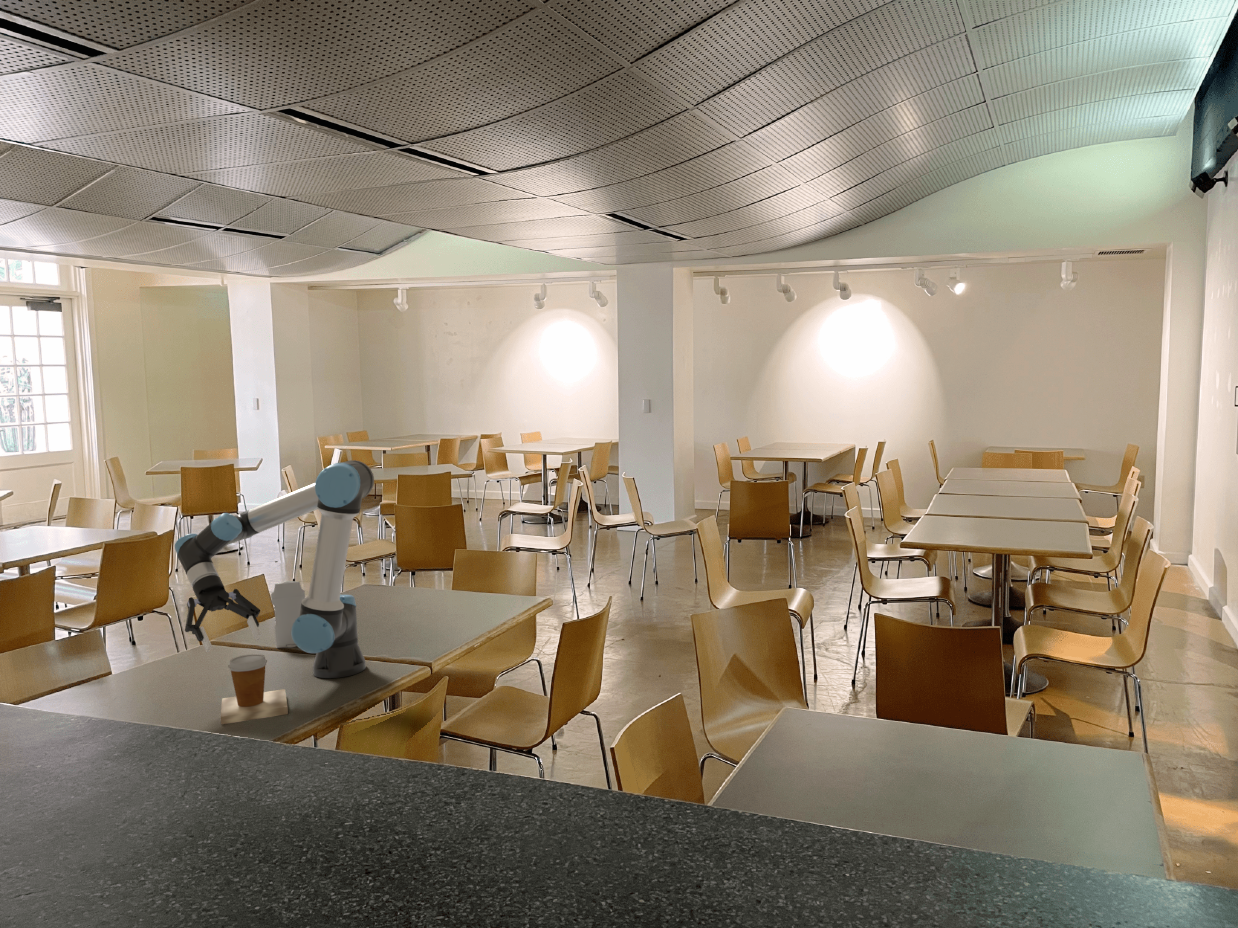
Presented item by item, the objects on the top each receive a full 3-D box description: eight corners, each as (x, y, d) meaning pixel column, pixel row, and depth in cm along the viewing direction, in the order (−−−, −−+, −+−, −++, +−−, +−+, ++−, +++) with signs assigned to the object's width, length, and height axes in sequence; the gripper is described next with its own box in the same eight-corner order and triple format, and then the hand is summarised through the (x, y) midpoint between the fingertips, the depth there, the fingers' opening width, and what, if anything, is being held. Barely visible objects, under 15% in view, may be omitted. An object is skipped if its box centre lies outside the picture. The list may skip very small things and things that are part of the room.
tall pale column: (274, 649, 302) (269, 583, 301) (274, 646, 306) (270, 581, 305) (308, 645, 306) (303, 580, 304) (308, 642, 310) (304, 578, 308)
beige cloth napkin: (285, 695, 254) (285, 688, 254) (287, 713, 239) (287, 706, 239) (222, 705, 248) (222, 698, 248) (221, 724, 233) (220, 716, 233)
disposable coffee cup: (243, 711, 236) (240, 665, 235) (224, 705, 242) (220, 660, 241) (277, 700, 244) (273, 656, 243) (257, 694, 249) (254, 651, 248)
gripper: (245, 582, 268) (273, 640, 259) (156, 599, 250) (183, 662, 241) (252, 566, 264) (281, 624, 255) (162, 582, 246) (190, 645, 237)
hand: (234, 643), depth 248 cm, fingers open, 13 cm apart
